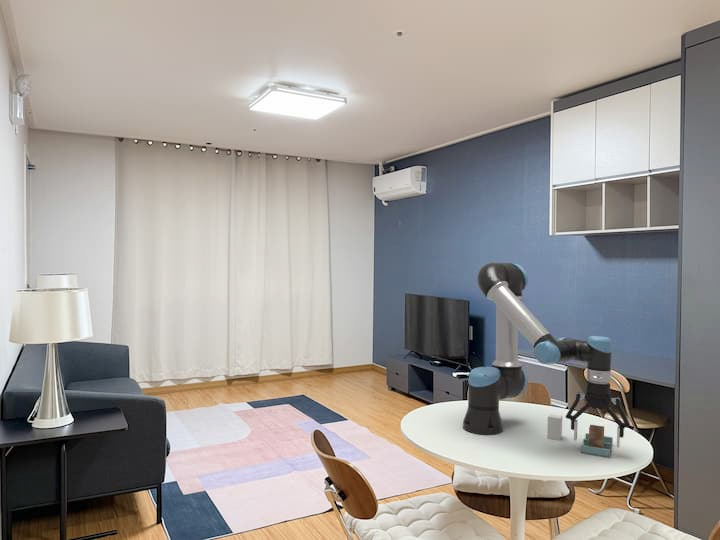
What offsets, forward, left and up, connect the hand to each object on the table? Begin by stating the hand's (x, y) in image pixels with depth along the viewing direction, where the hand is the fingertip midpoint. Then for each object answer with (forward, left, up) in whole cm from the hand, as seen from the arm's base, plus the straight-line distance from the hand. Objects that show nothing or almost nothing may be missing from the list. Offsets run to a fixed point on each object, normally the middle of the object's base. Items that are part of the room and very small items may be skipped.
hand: (596, 442), depth 189 cm
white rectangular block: (-15, +9, -3) cm, 18 cm away
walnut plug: (0, 0, -2) cm, 3 cm away
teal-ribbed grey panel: (0, +4, -3) cm, 5 cm away
